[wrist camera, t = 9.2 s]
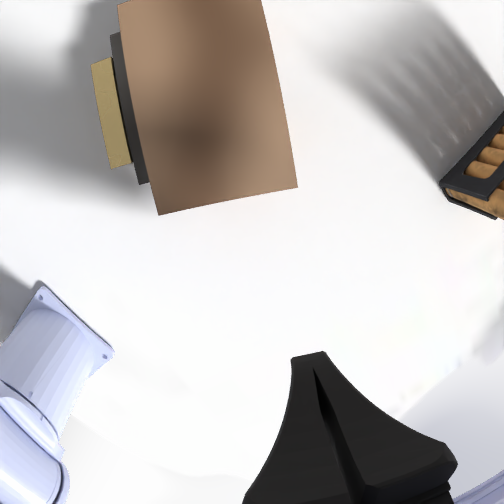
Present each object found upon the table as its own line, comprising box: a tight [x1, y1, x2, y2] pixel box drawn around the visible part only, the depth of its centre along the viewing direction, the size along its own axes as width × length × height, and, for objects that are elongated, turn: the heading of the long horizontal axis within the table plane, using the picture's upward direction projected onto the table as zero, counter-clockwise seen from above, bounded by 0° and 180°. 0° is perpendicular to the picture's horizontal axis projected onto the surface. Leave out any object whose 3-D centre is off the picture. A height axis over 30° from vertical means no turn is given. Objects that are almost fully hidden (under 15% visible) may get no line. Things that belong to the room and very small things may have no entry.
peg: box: [91, 57, 133, 169], centre depth 14 cm, size 8×5×5 cm, turn 100°
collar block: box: [110, 0, 298, 215], centre depth 14 cm, size 6×10×6 cm, turn 10°
